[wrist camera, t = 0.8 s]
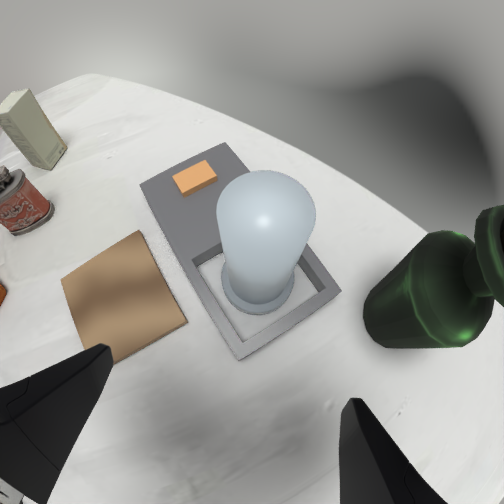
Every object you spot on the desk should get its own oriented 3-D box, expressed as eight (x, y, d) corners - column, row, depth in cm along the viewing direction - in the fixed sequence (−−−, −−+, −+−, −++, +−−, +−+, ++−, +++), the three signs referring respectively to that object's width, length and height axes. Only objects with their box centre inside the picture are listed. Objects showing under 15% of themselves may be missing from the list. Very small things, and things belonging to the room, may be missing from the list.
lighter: (55, 198, 28) (13, 149, 18) (53, 221, 26) (5, 173, 17) (13, 218, 27) (-30, 179, 17) (11, 240, 25) (-37, 202, 16)
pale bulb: (304, 290, 24) (351, 227, 13) (246, 328, 23) (246, 294, 12) (266, 237, 26) (280, 147, 15) (210, 270, 25) (183, 194, 14)
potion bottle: (384, 257, 25) (504, 133, 9) (436, 309, 23) (576, 235, 7) (336, 318, 23) (488, 221, 6) (396, 374, 21) (569, 353, 4)
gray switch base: (334, 296, 24) (345, 288, 21) (239, 360, 22) (238, 360, 19) (226, 154, 30) (224, 136, 27) (144, 195, 28) (136, 180, 25)
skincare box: (68, 148, 31) (31, 86, 20) (50, 172, 29) (7, 113, 18) (46, 144, 32) (12, 90, 20) (30, 166, 30) (-10, 114, 19)
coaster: (187, 322, 23) (186, 321, 22) (98, 372, 21) (94, 372, 20) (141, 233, 26) (138, 229, 25) (64, 282, 24) (60, 279, 23)
